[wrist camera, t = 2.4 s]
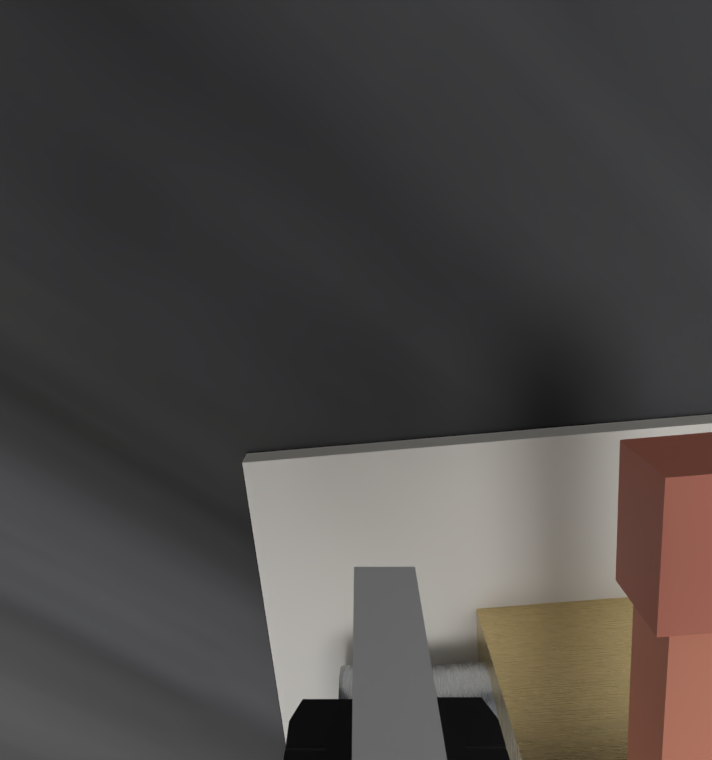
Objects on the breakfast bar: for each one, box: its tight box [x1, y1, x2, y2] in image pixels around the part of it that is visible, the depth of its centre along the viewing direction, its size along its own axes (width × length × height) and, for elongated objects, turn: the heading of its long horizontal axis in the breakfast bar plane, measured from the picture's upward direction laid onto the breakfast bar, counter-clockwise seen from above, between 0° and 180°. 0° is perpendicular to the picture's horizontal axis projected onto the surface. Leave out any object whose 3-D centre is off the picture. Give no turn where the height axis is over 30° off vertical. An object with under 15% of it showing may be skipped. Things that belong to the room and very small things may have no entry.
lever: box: [616, 432, 712, 760], centre depth 16 cm, size 18×5×2 cm, turn 5°
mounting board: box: [242, 414, 712, 741], centre depth 27 cm, size 20×27×1 cm
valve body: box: [338, 597, 633, 760], centre depth 23 cm, size 8×20×9 cm, turn 95°
